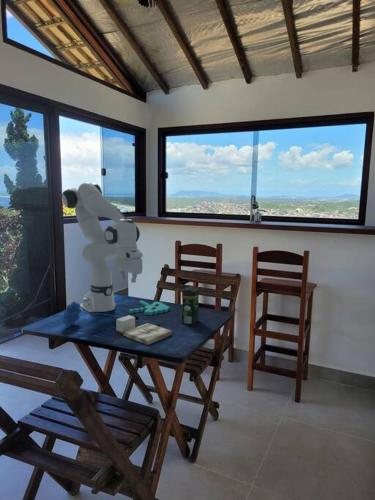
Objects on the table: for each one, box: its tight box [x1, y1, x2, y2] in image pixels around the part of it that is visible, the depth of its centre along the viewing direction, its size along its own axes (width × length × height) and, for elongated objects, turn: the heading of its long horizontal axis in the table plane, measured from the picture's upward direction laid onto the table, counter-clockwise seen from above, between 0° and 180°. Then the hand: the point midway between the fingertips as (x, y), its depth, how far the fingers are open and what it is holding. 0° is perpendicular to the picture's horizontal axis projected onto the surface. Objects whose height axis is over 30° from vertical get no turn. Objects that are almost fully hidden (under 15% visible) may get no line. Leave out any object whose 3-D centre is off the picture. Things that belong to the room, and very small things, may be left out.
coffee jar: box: [181, 285, 200, 325], centre depth 187 cm, size 10×8×19 cm
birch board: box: [122, 322, 173, 345], centre depth 168 cm, size 16×16×2 cm
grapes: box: [62, 301, 82, 328], centre depth 178 cm, size 12×7×12 cm, turn 153°
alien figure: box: [128, 300, 171, 316], centre depth 208 cm, size 20×2×20 cm
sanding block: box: [115, 314, 136, 334], centre depth 174 cm, size 4×8×6 cm, turn 141°
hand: (128, 280), depth 174 cm, fingers open, 8 cm apart
